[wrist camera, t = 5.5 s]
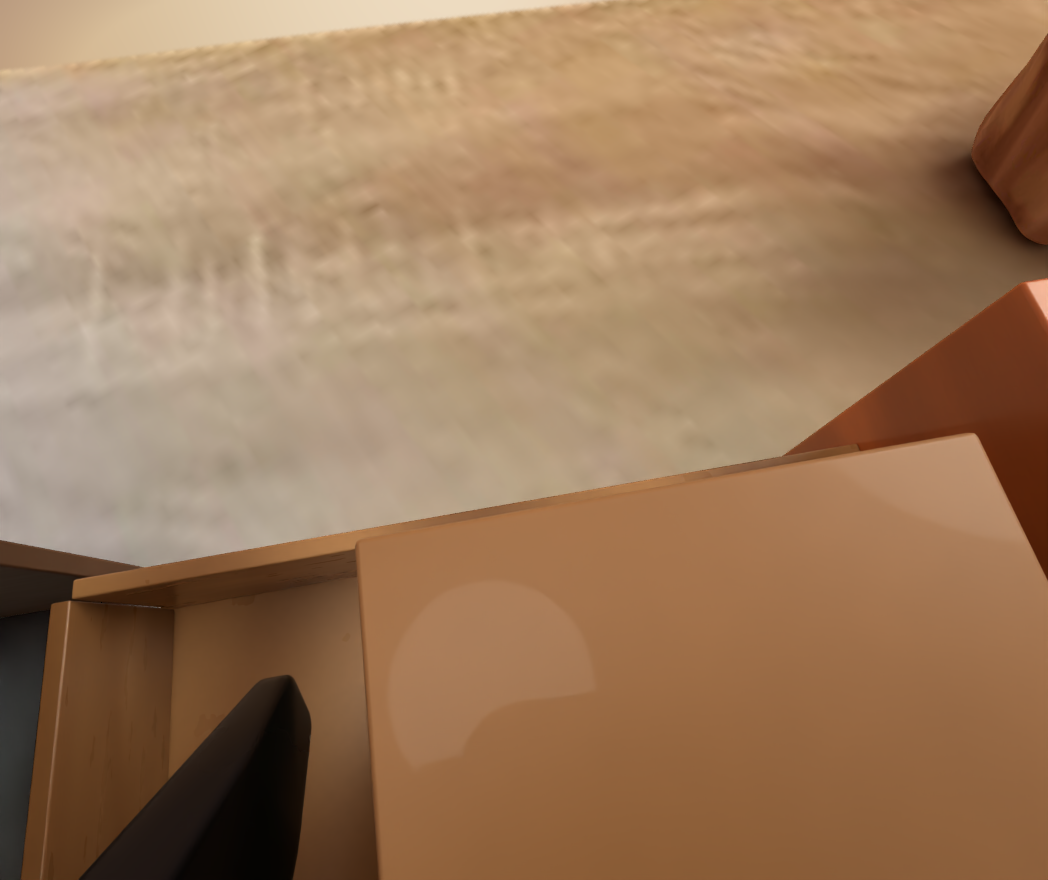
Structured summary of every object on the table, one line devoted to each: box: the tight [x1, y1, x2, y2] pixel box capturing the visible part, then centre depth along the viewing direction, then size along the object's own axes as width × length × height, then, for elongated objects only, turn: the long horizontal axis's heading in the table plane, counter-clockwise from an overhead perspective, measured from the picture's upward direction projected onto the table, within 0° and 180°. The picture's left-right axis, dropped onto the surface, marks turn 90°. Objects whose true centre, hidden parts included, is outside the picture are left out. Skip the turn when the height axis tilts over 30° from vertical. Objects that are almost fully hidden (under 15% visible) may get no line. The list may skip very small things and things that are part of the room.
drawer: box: [21, 278, 1048, 880], centre depth 10 cm, size 19×10×9 cm, turn 100°
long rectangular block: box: [355, 433, 1048, 880], centre depth 8 cm, size 5×5×11 cm
